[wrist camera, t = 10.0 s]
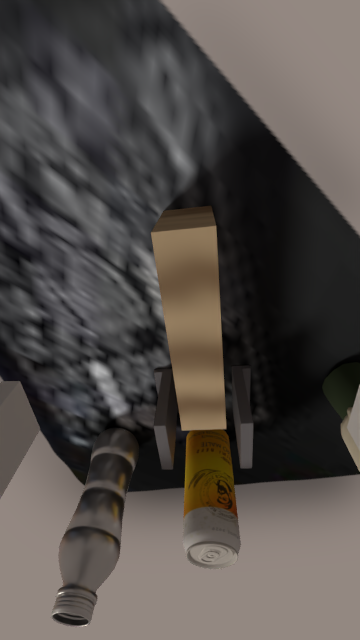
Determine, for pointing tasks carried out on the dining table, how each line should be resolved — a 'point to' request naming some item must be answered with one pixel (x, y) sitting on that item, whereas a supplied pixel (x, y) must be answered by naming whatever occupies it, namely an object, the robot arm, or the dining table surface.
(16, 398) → the robot arm
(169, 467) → the chute
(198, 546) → the beer can
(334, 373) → the character mug
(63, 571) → the plastic bottle
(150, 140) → the dining table surface
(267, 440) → the dining table surface
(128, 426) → the dining table surface
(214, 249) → the tan wooden block
